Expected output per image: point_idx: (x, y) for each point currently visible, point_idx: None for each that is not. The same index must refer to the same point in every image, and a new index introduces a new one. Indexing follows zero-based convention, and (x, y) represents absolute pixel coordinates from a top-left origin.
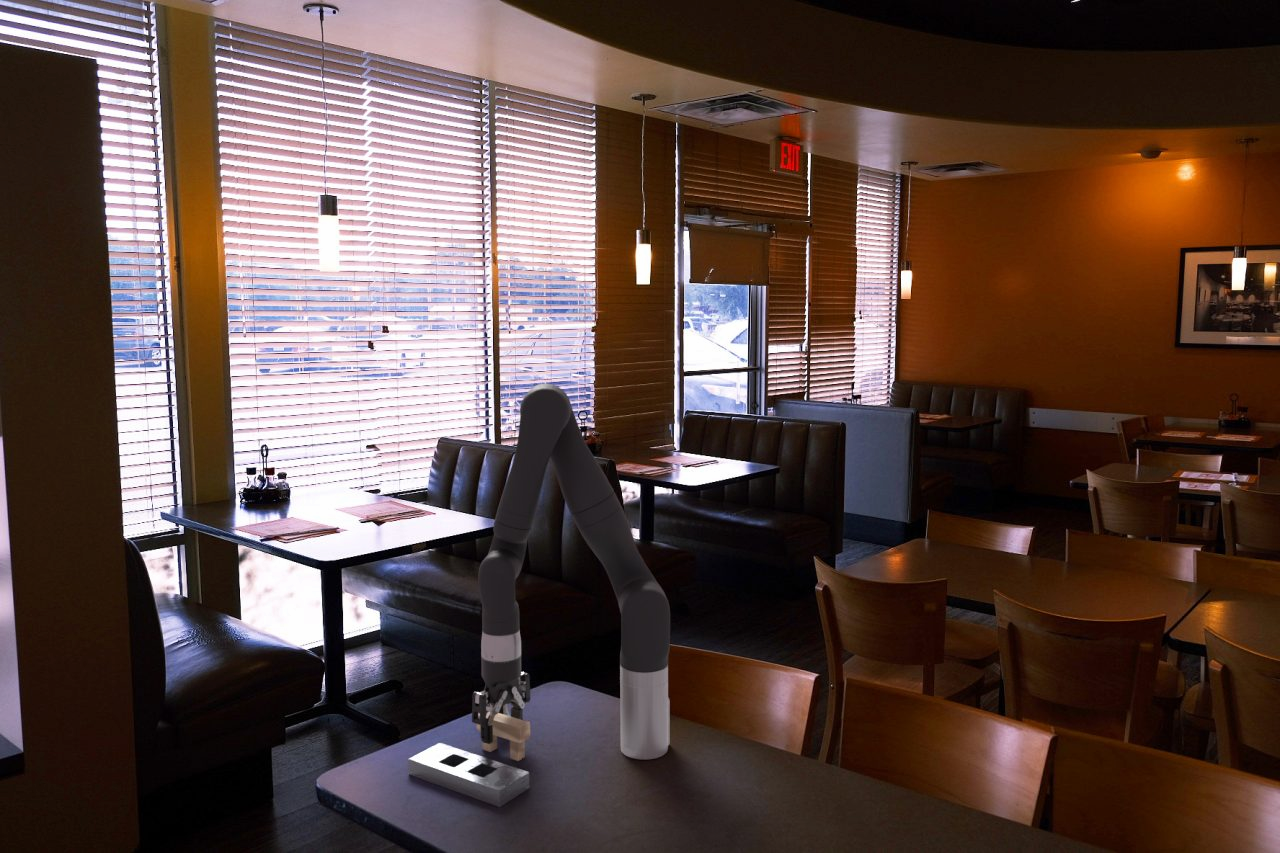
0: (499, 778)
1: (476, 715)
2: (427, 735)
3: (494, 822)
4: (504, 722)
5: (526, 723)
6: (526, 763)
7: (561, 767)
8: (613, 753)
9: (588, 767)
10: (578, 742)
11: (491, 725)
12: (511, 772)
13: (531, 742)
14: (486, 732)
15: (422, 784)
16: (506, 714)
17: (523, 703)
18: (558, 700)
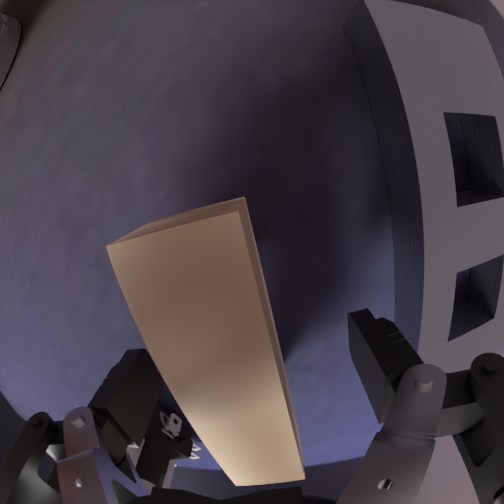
0: (464, 62)
1: (476, 436)
2: (317, 463)
3: (476, 22)
4: (266, 377)
5: (138, 249)
6: (229, 172)
7: (153, 61)
8: (17, 77)
9: (101, 26)
10: (25, 193)
11: (394, 370)
12: (419, 47)
13: (121, 301)
14: (408, 346)
15: None
16: None
17: (68, 425)
18: (22, 390)
